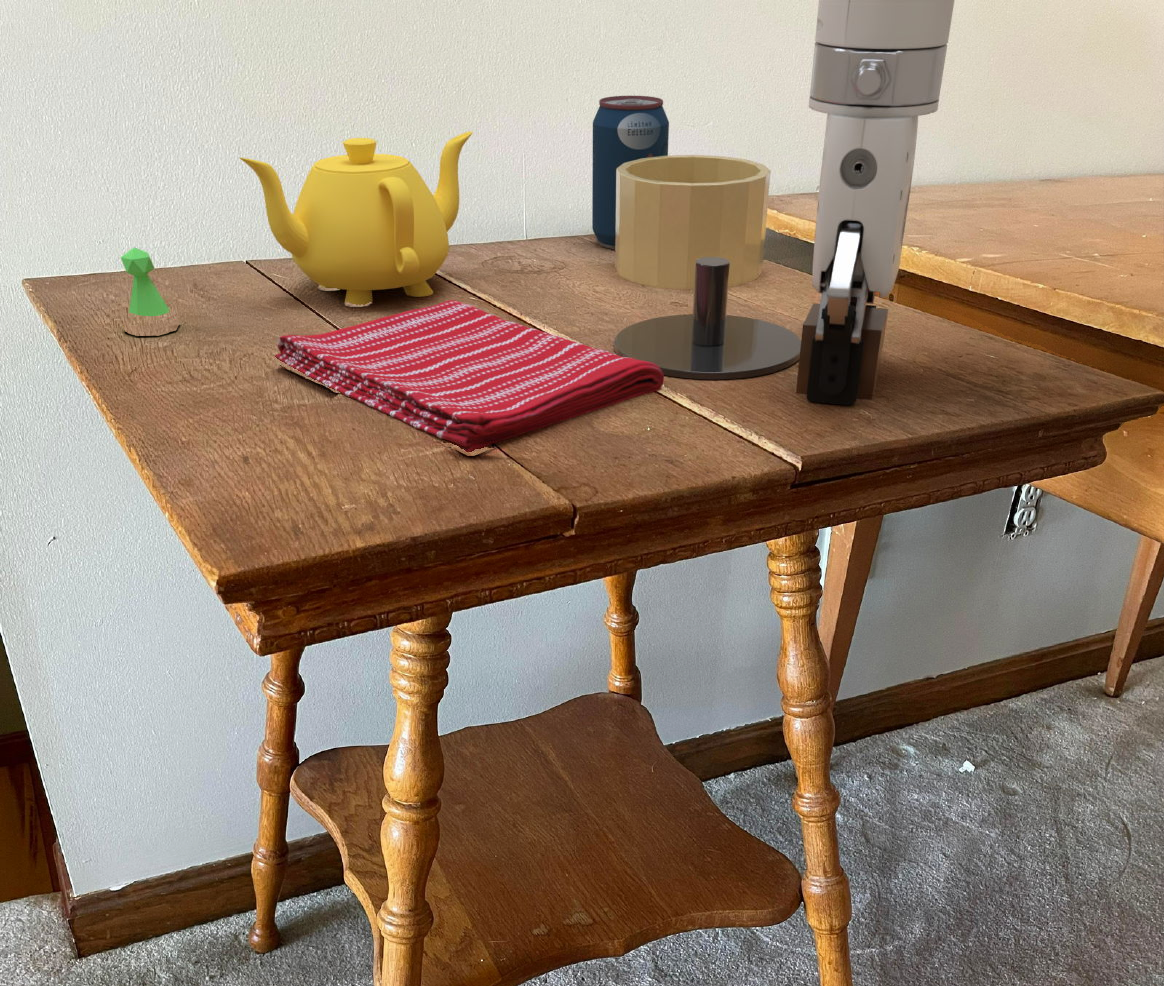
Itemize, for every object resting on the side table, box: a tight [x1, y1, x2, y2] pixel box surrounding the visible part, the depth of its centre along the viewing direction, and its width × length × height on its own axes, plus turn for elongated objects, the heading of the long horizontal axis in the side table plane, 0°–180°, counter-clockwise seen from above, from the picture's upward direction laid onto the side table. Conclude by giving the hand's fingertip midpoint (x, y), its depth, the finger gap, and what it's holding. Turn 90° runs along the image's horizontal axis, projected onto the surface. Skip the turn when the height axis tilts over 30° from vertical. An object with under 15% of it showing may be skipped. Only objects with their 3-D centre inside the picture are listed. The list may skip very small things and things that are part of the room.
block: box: [795, 302, 889, 401], centre depth 79 cm, size 5×5×5 cm
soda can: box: [591, 95, 670, 250], centre depth 110 cm, size 7×7×12 cm
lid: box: [613, 257, 801, 381], centre depth 85 cm, size 14×14×7 cm
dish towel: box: [274, 299, 665, 452], centre depth 82 cm, size 17×24×3 cm
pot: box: [614, 154, 771, 291], centre depth 102 cm, size 13×13×8 cm
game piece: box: [120, 247, 170, 316], centre depth 91 cm, size 4×4×6 cm
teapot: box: [238, 130, 473, 305], centre depth 97 cm, size 20×15×12 cm
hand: (838, 380), depth 80 cm, fingers open, 7 cm apart
